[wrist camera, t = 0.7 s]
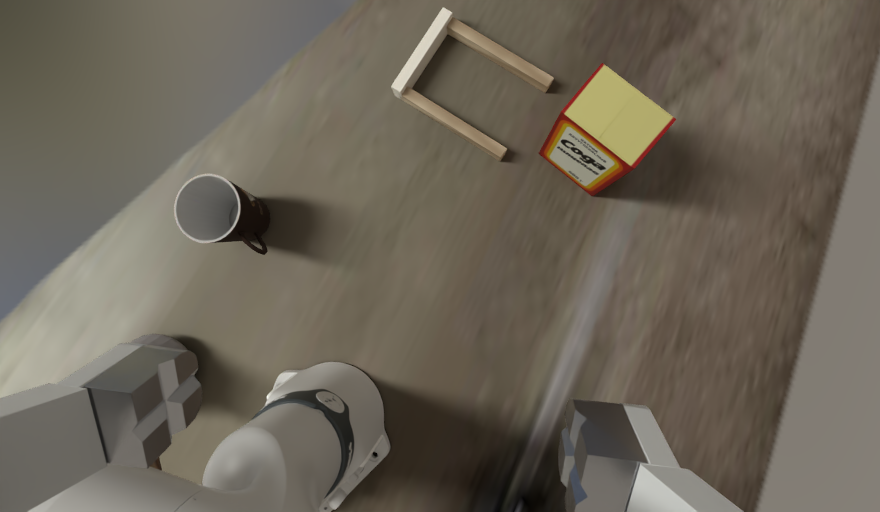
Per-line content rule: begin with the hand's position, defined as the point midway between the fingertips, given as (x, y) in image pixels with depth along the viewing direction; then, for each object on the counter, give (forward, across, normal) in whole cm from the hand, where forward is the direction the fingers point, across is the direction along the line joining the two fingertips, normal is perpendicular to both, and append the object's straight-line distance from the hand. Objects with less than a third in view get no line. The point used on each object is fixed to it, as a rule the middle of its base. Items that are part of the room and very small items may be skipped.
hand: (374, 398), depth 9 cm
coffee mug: (+50, -31, -13) cm, 60 cm away
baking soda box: (+55, +15, 0) cm, 57 cm away
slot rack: (+58, -1, +8) cm, 59 cm away
